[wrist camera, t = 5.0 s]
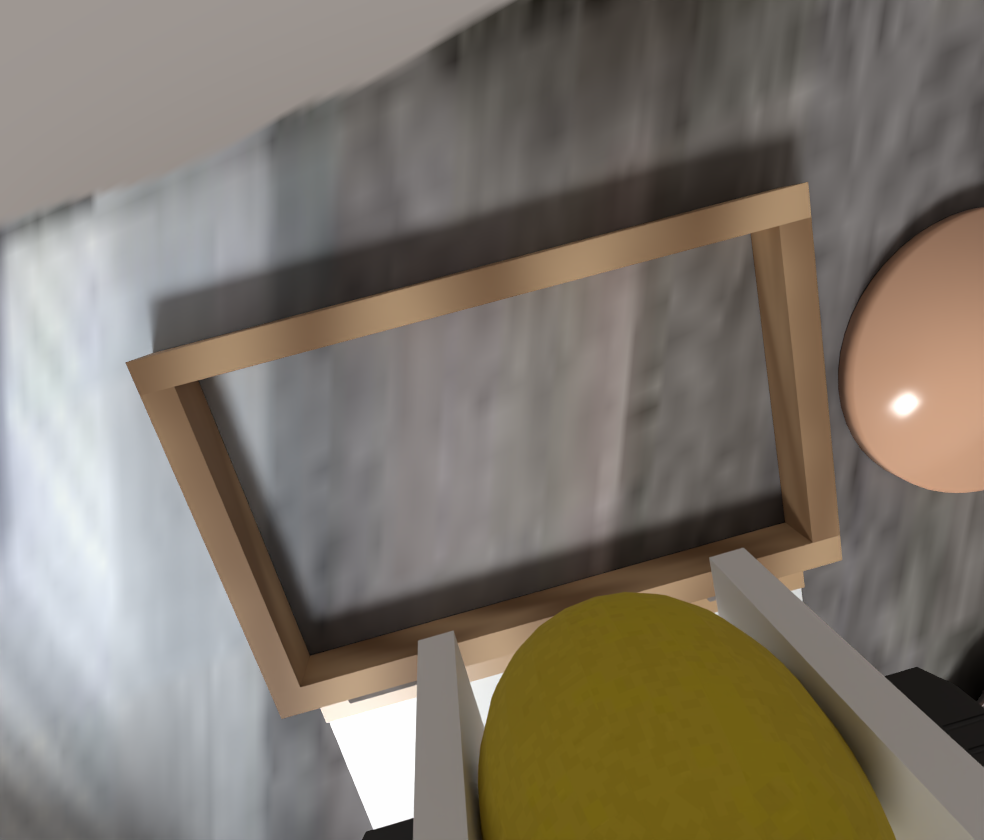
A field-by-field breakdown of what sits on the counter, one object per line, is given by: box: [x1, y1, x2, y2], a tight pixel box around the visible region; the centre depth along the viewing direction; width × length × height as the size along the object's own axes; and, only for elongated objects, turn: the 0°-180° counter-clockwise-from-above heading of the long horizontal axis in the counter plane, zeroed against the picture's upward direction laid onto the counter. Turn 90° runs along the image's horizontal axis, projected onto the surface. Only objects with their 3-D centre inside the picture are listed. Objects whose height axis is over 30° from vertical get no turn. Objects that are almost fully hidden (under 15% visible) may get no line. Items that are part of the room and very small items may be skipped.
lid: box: [321, 571, 805, 829], centre depth 28 cm, size 22×13×1 cm, turn 104°
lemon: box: [478, 592, 896, 840], centre depth 9 cm, size 6×6×8 cm
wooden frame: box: [126, 182, 842, 719], centre depth 24 cm, size 24×16×2 cm, turn 104°
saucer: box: [838, 207, 984, 493], centre depth 25 cm, size 12×12×1 cm
